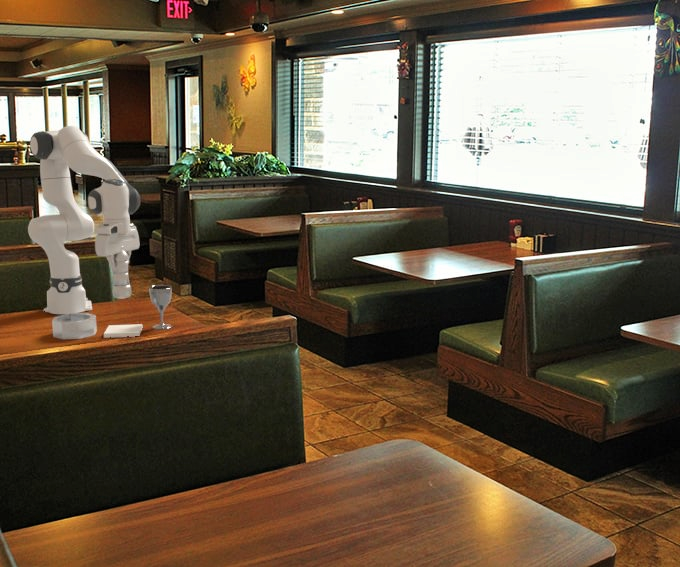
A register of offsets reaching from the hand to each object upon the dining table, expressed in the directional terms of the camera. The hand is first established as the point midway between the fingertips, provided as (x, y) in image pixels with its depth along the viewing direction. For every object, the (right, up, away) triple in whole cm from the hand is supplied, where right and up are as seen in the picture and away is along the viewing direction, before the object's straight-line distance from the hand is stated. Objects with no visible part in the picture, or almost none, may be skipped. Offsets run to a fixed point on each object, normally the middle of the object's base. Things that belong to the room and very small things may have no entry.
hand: (119, 265), depth 279 cm
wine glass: (+12, -23, +13) cm, 29 cm away
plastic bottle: (0, -12, +3) cm, 12 cm away
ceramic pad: (0, -24, +5) cm, 25 cm away
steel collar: (-17, -25, +4) cm, 30 cm away
